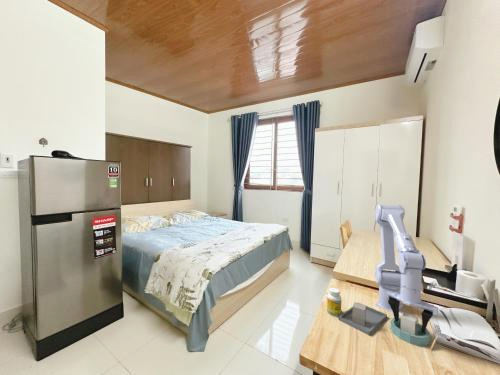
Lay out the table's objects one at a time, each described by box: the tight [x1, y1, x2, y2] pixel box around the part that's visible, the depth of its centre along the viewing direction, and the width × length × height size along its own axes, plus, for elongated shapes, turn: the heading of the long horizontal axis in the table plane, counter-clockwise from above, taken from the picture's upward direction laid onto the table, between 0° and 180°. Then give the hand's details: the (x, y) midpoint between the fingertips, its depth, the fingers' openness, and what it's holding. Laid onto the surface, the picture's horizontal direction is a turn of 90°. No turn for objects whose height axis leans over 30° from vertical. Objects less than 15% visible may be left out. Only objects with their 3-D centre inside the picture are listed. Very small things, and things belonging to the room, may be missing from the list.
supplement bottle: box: [326, 287, 342, 318], centre depth 86 cm, size 5×5×10 cm
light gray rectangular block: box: [352, 301, 367, 326], centre depth 81 cm, size 4×4×6 cm
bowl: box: [390, 316, 431, 347], centre depth 74 cm, size 11×11×3 cm
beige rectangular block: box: [400, 311, 419, 336], centre depth 74 cm, size 4×4×6 cm
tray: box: [338, 302, 388, 336], centre depth 83 cm, size 17×11×2 cm, turn 130°
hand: (409, 325), depth 74 cm, fingers open, 7 cm apart
